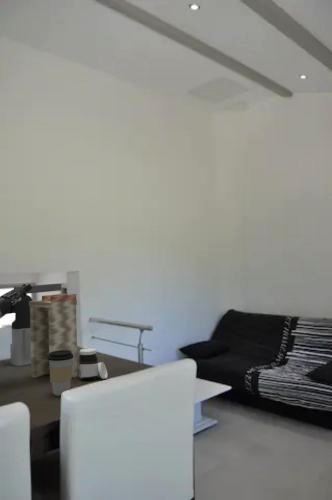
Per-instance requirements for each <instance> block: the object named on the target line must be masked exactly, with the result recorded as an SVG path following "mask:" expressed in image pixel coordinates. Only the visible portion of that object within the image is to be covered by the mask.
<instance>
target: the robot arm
mask: <svg viewBox="0 0 332 500" xmlns="http://www.w3.org/2000/svg"><path fill="white" fill-rule="evenodd" d="M21 286H26V287H24V288H23V289H21V290H20V291H18V292H17V291H16V292H15V293H14V288H13V289H11V290H9V291H8V292H6V293H4V294H2V295H0V320H1V319H2V318H3V317H5V316H6V315H10V314H15V315H14V320H13V321H11V322H12V323H11V343H10V349H9V350H10V365H12V366H17V367H19V366H20V367H22V366H23V367H24V366H27V365H31V335H30V306H29V301H34V300H33V298H32V297H31V296H30V295H28V294H26V293H27V292H28V291H30V290H31V289H32V284H31V283H29V284H26V283H24V284H22V285H21ZM19 293H20V294H19Z"/></svg>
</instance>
